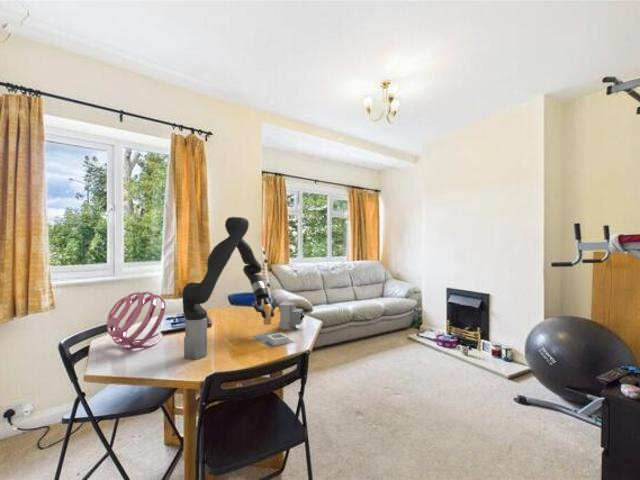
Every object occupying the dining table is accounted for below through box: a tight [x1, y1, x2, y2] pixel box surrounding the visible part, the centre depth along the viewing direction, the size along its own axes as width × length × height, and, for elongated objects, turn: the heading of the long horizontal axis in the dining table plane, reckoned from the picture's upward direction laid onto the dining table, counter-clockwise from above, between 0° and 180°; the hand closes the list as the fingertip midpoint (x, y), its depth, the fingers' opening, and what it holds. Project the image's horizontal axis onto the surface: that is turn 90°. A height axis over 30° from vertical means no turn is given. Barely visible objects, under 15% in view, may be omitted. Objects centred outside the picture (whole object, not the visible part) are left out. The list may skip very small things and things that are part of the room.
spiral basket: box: [106, 291, 166, 350], centre depth 154 cm, size 28×28×27 cm
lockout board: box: [252, 330, 294, 349], centre depth 160 cm, size 22×14×4 cm, turn 34°
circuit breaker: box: [278, 301, 306, 330], centre depth 181 cm, size 8×14×15 cm, turn 78°
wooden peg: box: [263, 303, 272, 326], centre depth 165 cm, size 4×4×10 cm
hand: (268, 316), depth 163 cm, fingers closed on wooden peg, 4 cm apart
